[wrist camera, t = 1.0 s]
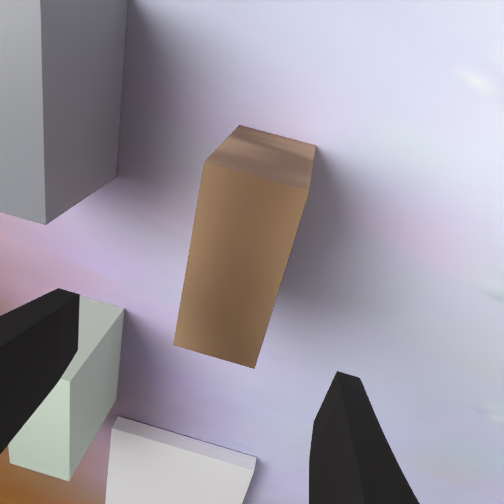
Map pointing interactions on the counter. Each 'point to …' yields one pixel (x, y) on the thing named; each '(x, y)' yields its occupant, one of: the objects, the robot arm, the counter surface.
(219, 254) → the walnut brick
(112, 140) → the grey brick
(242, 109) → the counter surface
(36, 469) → the sage brick
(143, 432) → the white mat
